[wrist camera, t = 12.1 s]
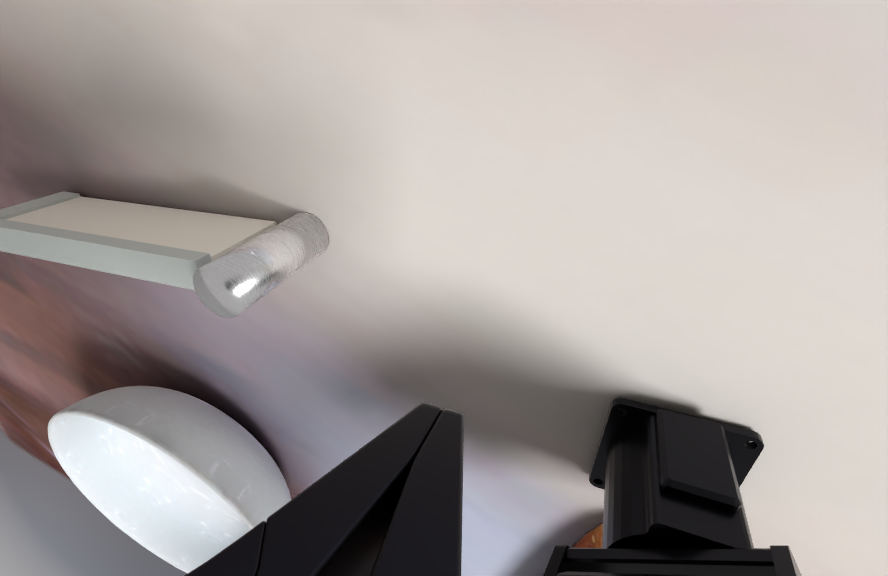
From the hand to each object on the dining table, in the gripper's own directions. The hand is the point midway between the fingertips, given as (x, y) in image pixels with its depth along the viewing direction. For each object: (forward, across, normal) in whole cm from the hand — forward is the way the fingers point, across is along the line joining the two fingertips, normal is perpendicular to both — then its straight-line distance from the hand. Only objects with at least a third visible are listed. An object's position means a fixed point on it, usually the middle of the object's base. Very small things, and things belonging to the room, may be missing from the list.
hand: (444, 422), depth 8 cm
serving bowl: (+12, +25, +26) cm, 38 cm away
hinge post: (+12, +12, +3) cm, 17 cm away
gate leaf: (+12, +22, +3) cm, 25 cm away
